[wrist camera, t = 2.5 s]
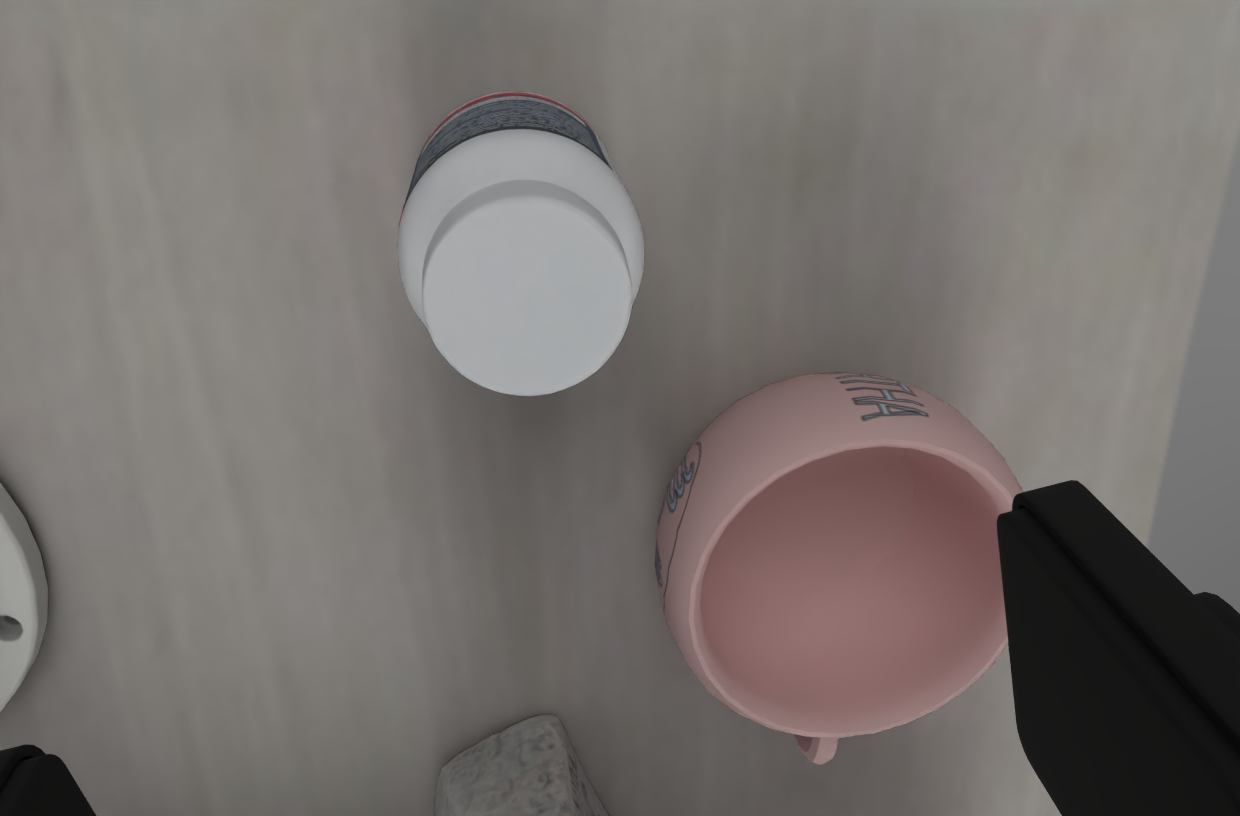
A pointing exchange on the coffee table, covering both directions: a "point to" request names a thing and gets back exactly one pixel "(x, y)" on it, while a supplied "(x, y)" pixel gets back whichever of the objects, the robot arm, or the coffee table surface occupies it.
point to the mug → (836, 556)
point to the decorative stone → (518, 775)
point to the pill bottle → (520, 244)
